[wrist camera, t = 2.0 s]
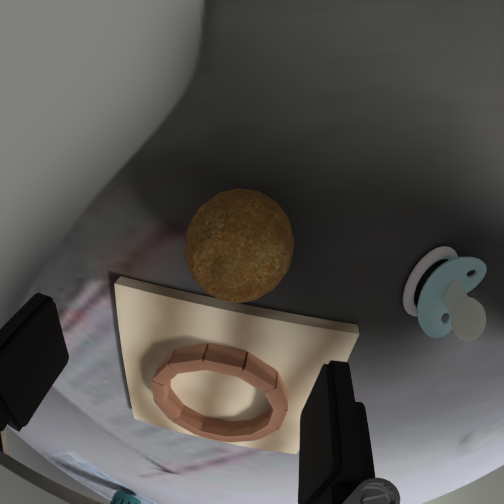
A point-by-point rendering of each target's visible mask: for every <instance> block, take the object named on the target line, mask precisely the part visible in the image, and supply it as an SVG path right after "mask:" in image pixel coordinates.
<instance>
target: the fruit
mask: <svg viewBox="0 0 504 504" xmlns="http://www.w3.org/2000/svg"><path fill="white" fill-rule="evenodd" d="M294 245H295V242H294V237H293V233H292V228H291V224H290V220H289V218H288V216H287V215H286V213H285V212H284V211H283V209H282V208H281V207H280V205H279V204H278V203H277V202H276V201H275V200H273V199H271V198H270V197H268V196H266V195H265V194H263V193H261V192H260V191H254V190H248V189H242V188H237V189H233V190H229V191H225V192H220V193H218V194H217V195H215V196H214V197H213V198H211V199H210V200H209V201H207V202H206V203H205V204H203V205H202V206H201V207H199V208H198V210H197V212H196V214H195V216H194V218H193V219H192V221H191V223H190V225H189V227H188V229H187V231H186V240H185V259H186V262H187V264H188V267H189V270H190V272H191V275H192V278H193V279H194V280H195V282H196V283H197V284H198V285H199V286H200V287H201V288H202V289H203V291H204V292H206V293H208V294H210V295H211V296H213V297H215V298H217V299H219V300H222V301H227V302H233V303H242V302H249V301H254V300H256V299H258V298H260V297H261V296H263V295H265V294H267V293H269V292H270V291H272V290H274V289H275V287H276V286H277V285H278V283H279V282H280V281H281V279H282V278H283V277H284V275H285V274H286V273H287V271H288V270H289V268H290V264H291V259H292V254H293V250H294Z"/></svg>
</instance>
